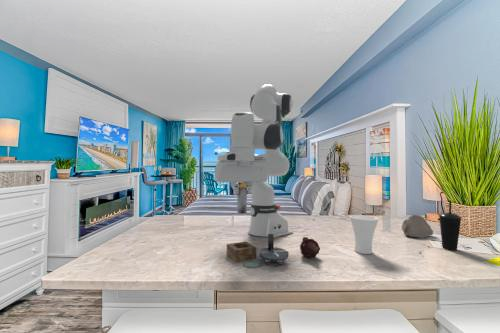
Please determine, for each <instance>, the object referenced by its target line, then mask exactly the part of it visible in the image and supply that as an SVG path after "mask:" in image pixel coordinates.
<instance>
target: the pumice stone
mask: <svg viewBox="0 0 500 333" xmlns="http://www.w3.org/2000/svg"><path fill="white" fill-rule="evenodd" d="M401 231H402V232H403V234H404V235H405V236H407V237H410V238H418V239H419V238H421V239H422V238H428V237H430V236H432V235H433V234H434V230H433V229H432V226H431V225H430V224H428V222H427V220H426V219H425V218H424V217H423V216H421V215H419V214H412V215H410V216H409V217H408V218H406V219H404V221H403V222H402V224H401ZM427 236H428V237H427Z"/></svg>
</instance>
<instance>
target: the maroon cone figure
mask: <svg viewBox="0 0 500 333" xmlns="http://www.w3.org/2000/svg"><path fill="white" fill-rule="evenodd" d="M299 246H300V247H299V250H300V252H301V254H302V256H304V257H306V258H308V259H310V258H312V259H314V258H315V257H317V255H318V254H319V253H320V250H321V246H319V243H318V241H316V240H315V239H313V238H308V236H307V237H306V236H304V237H303V238H302V241H301V243H300V245H299Z"/></svg>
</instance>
